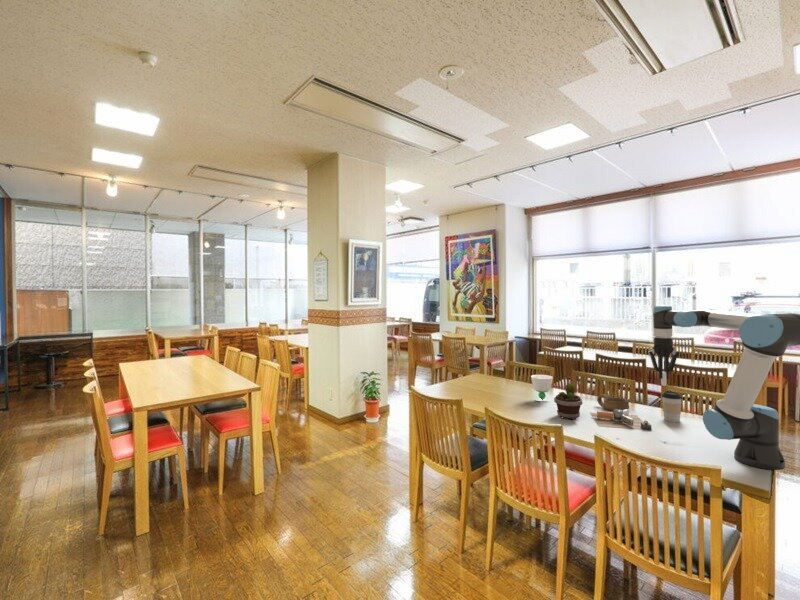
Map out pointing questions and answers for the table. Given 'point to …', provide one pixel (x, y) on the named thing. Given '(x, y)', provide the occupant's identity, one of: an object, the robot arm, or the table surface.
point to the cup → (541, 384)
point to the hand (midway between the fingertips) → (663, 385)
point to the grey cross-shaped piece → (616, 416)
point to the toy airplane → (622, 423)
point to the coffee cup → (671, 406)
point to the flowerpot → (568, 403)
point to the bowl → (613, 402)
